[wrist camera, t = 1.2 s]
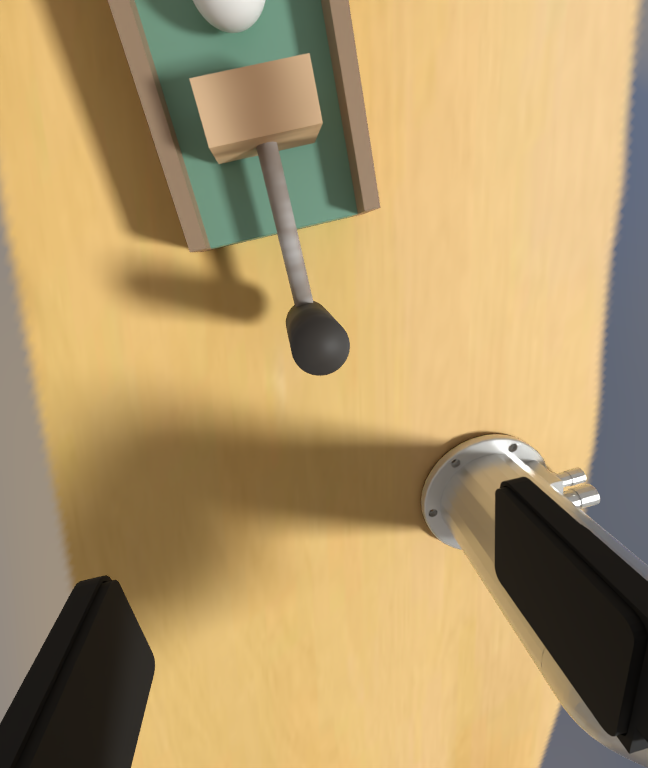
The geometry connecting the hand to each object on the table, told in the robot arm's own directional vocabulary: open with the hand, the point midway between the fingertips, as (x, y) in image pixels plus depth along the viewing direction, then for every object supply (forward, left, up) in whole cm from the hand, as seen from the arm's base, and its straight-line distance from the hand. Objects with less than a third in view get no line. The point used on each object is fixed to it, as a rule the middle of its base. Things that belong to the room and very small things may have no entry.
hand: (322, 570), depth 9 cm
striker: (-2, -8, -20) cm, 22 cm away
